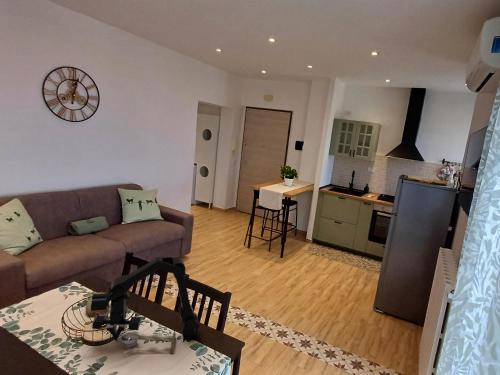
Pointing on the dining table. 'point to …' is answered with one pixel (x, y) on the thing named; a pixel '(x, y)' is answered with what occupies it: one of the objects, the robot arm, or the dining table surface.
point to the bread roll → (88, 306)
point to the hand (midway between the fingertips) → (116, 340)
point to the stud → (129, 340)
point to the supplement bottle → (102, 313)
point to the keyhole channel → (153, 350)
